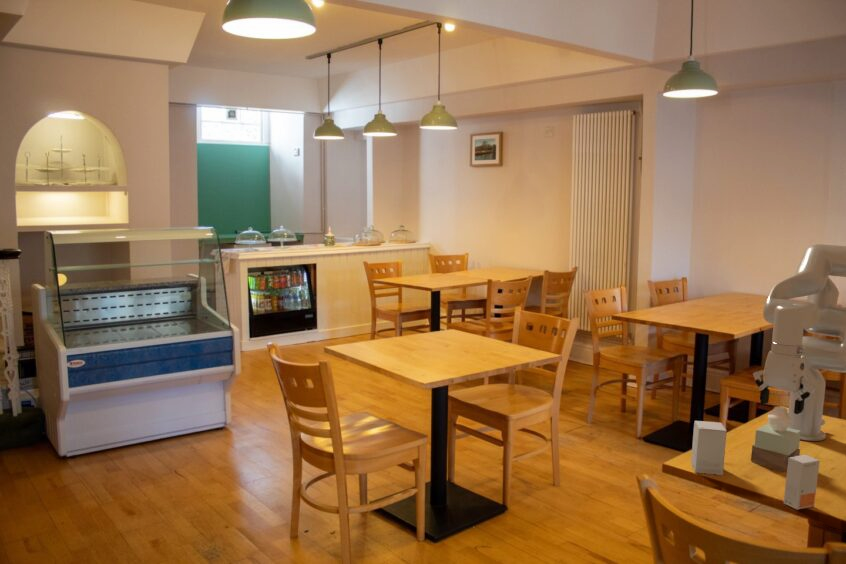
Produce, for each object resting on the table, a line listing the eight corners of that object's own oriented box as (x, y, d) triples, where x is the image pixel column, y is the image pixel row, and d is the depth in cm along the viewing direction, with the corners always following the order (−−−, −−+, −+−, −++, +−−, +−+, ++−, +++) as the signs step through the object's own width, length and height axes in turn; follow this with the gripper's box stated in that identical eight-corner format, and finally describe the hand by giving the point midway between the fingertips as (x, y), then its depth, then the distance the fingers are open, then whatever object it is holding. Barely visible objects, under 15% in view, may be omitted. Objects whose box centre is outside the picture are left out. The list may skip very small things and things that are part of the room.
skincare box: (797, 510, 177) (802, 463, 175) (782, 503, 180) (787, 457, 179) (815, 506, 179) (820, 460, 177) (800, 499, 183) (805, 454, 181)
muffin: (771, 424, 210) (773, 401, 209) (794, 430, 206) (796, 406, 205) (762, 429, 206) (765, 405, 205) (785, 435, 201) (788, 411, 200)
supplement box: (723, 475, 197) (727, 430, 195) (694, 473, 198) (698, 428, 196) (718, 465, 204) (722, 422, 202) (690, 462, 205) (693, 419, 204)
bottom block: (767, 456, 213) (769, 439, 212) (798, 466, 206) (800, 449, 205) (750, 462, 208) (752, 445, 207) (781, 472, 201) (783, 455, 200)
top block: (765, 439, 213) (767, 422, 212) (799, 447, 206) (800, 430, 206) (754, 446, 206) (756, 429, 205) (788, 455, 200) (790, 438, 199)
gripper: (824, 353, 198) (818, 414, 201) (763, 341, 212) (758, 397, 214) (811, 357, 194) (805, 419, 196) (749, 344, 207) (744, 402, 210)
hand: (780, 408), depth 205 cm, fingers open, 9 cm apart
